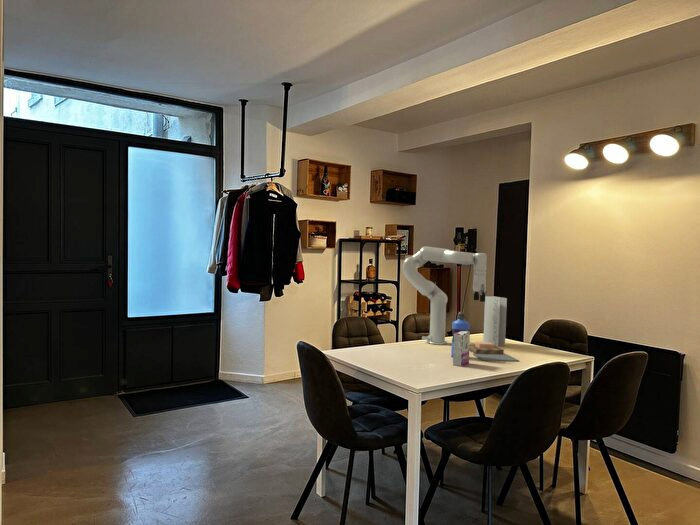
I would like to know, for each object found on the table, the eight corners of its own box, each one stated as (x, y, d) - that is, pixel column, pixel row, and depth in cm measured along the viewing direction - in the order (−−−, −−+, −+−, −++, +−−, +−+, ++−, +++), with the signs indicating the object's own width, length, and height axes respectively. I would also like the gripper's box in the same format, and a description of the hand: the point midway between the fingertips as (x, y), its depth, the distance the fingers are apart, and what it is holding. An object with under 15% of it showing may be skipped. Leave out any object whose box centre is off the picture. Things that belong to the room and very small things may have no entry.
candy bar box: (460, 361, 277) (461, 330, 277) (469, 363, 274) (470, 331, 274) (452, 365, 268) (453, 333, 267) (461, 366, 265) (463, 334, 265)
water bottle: (447, 356, 289) (449, 311, 289) (456, 354, 296) (458, 310, 295) (462, 359, 283) (464, 313, 282) (471, 357, 290) (473, 312, 289)
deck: (476, 354, 298) (476, 349, 298) (468, 350, 311) (468, 345, 311) (503, 355, 300) (503, 349, 300) (494, 350, 313) (495, 345, 313)
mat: (482, 360, 282) (483, 359, 282) (473, 354, 297) (473, 353, 297) (519, 361, 284) (519, 360, 284) (507, 355, 299) (507, 354, 299)
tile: (479, 347, 303) (479, 344, 303) (475, 345, 310) (475, 341, 310) (494, 348, 304) (494, 344, 304) (490, 345, 311) (490, 342, 311)
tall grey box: (483, 342, 341) (485, 296, 340) (489, 342, 343) (491, 296, 343) (497, 346, 328) (500, 298, 328) (504, 346, 331) (506, 298, 330)
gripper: (468, 272, 332) (468, 299, 333) (479, 273, 315) (479, 302, 316) (480, 272, 334) (479, 299, 334) (491, 273, 317) (491, 302, 317)
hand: (479, 300), depth 325 cm, fingers open, 9 cm apart
